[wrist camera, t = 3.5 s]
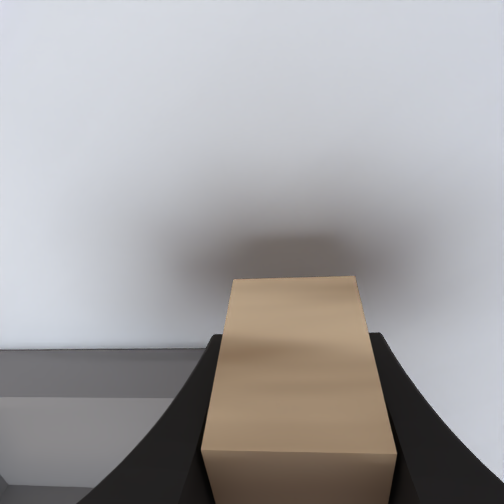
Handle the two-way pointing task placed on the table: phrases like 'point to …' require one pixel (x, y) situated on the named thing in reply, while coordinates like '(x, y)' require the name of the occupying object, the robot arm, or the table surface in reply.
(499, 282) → the table surface
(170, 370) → the tray
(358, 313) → the maple block
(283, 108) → the table surface
